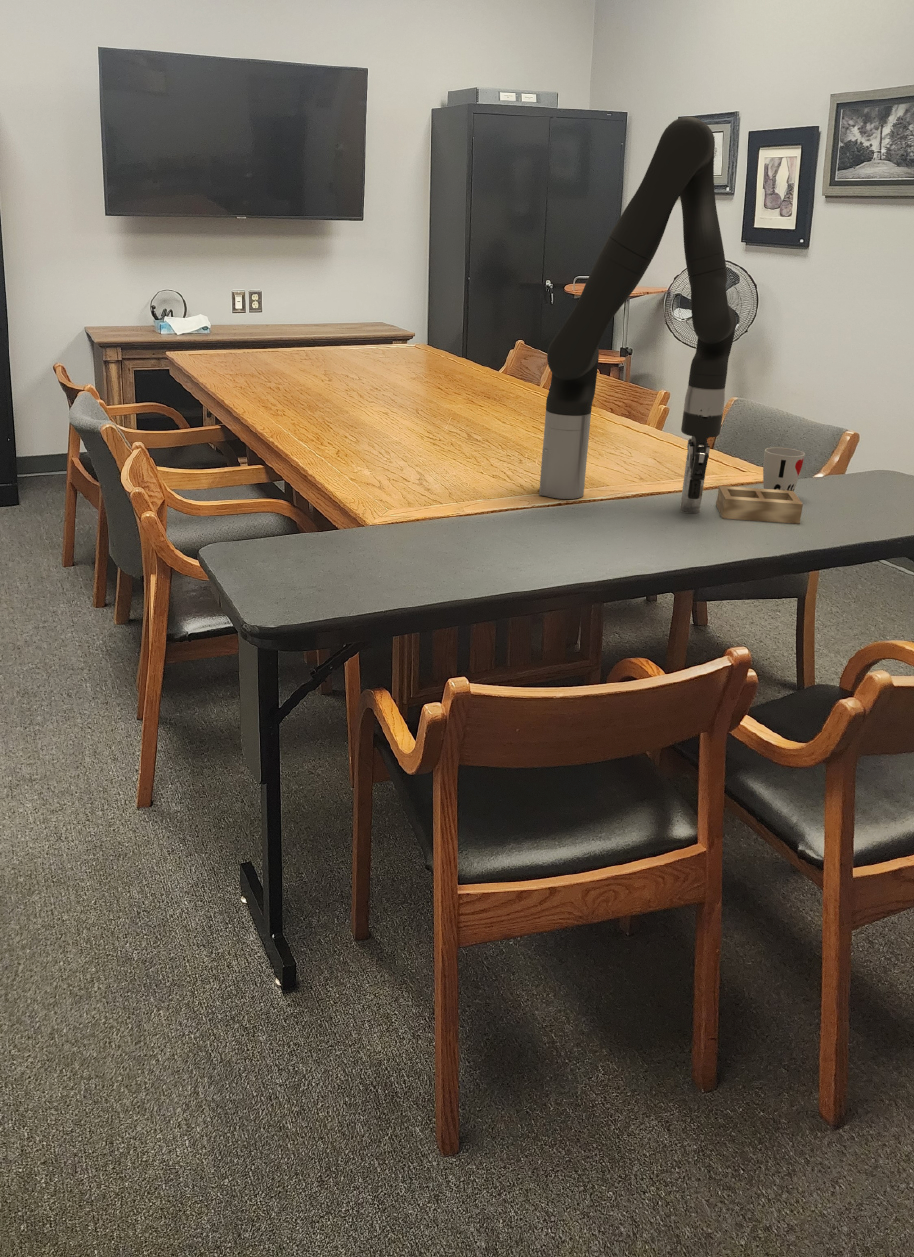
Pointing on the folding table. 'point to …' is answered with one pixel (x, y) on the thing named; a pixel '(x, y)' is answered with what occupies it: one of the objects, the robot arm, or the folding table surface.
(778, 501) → the frame
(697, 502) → the grey rounded cylinder
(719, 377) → the robot arm
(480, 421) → the folding table surface
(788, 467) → the cup
